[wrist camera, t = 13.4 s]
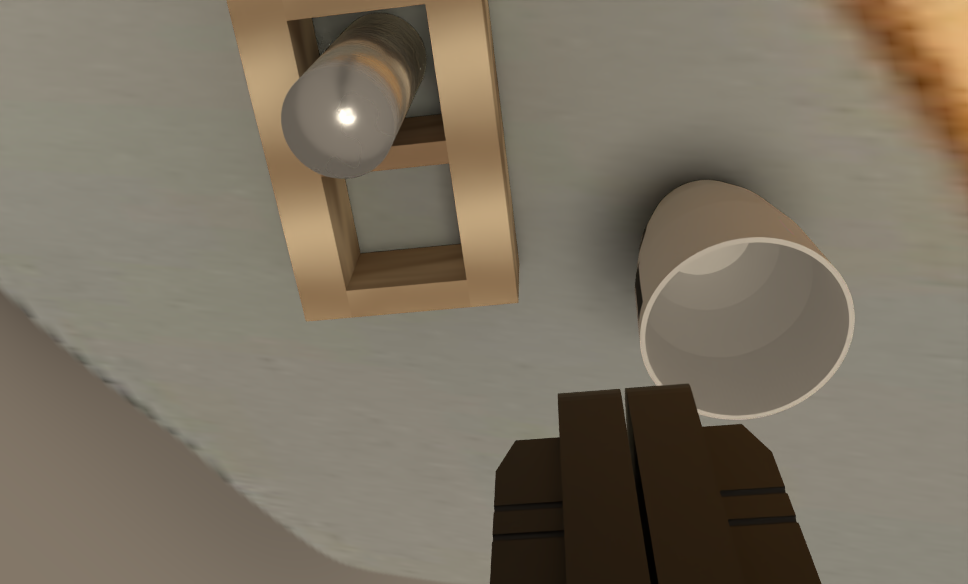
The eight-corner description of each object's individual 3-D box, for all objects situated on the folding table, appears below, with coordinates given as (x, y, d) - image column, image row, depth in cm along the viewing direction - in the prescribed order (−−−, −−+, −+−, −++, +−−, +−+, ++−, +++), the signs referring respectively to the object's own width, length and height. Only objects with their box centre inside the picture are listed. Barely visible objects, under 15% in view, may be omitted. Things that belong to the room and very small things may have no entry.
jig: (251, -25, 39) (224, -9, 36) (481, -55, 38) (476, -41, 35) (323, 282, 46) (306, 321, 43) (519, 264, 45) (518, 302, 42)
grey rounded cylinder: (330, 17, 40) (269, 73, 31) (419, 8, 40) (384, 61, 31) (346, 106, 42) (293, 183, 33) (432, 98, 41) (402, 173, 32)
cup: (590, 194, 43) (605, 292, 34) (753, 118, 41) (814, 201, 32) (658, 326, 46) (687, 447, 38) (812, 261, 44) (882, 373, 36)
